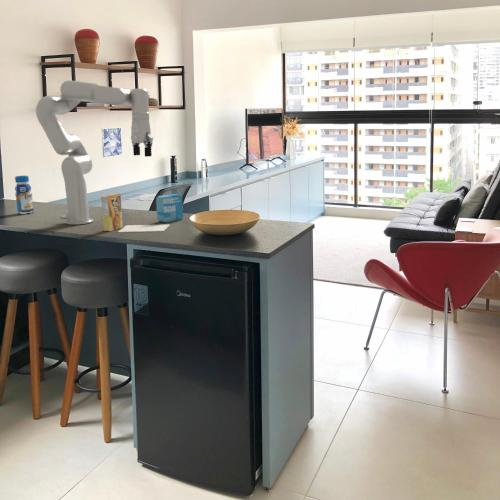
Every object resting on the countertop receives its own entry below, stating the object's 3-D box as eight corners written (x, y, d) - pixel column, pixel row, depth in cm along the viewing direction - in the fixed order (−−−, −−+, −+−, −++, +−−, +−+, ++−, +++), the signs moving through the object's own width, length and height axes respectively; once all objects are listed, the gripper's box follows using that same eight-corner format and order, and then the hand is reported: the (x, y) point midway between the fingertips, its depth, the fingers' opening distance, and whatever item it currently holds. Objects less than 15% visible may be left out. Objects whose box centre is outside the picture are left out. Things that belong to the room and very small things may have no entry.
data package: (163, 222, 274) (161, 197, 271) (157, 221, 277) (155, 196, 274) (183, 219, 282) (182, 194, 280) (177, 218, 285) (176, 193, 283)
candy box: (115, 227, 267) (112, 193, 264) (123, 227, 266) (120, 193, 262) (103, 230, 260) (100, 196, 256) (111, 231, 258) (108, 196, 254)
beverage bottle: (22, 212, 323) (18, 175, 318) (37, 211, 322) (32, 175, 317) (14, 214, 315) (9, 177, 310) (29, 214, 313) (25, 176, 309)
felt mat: (117, 232, 255) (117, 231, 254) (126, 226, 269) (126, 225, 269) (163, 231, 253) (163, 230, 253) (170, 224, 268) (170, 224, 268)
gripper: (123, 117, 269) (125, 155, 272) (143, 117, 256) (145, 157, 260) (138, 117, 273) (139, 154, 277) (158, 117, 261) (159, 156, 265)
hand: (142, 155), depth 268 cm, fingers open, 9 cm apart
